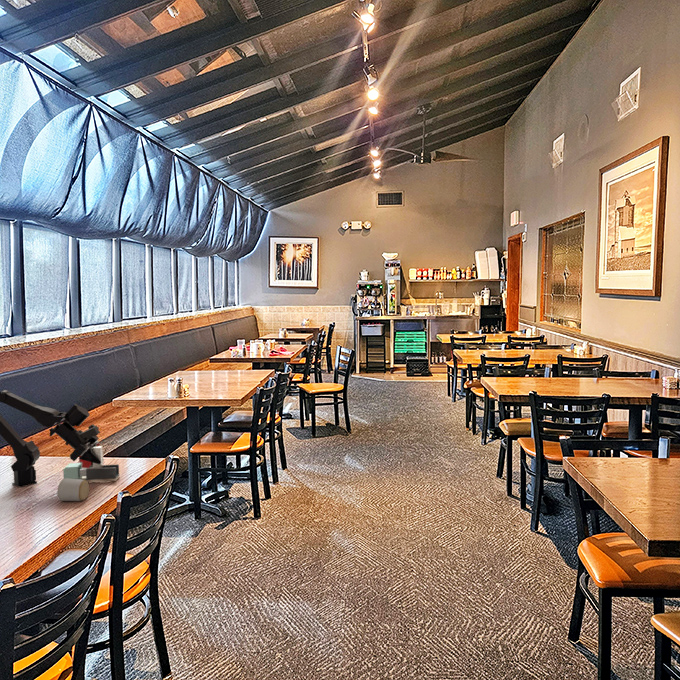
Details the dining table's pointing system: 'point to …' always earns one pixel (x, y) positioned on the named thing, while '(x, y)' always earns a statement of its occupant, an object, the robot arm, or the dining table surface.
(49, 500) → the dining table surface
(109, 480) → the base board
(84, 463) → the canned food
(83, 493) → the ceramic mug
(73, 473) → the socket
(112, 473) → the sleeve
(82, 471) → the light grey l-shaped piece
